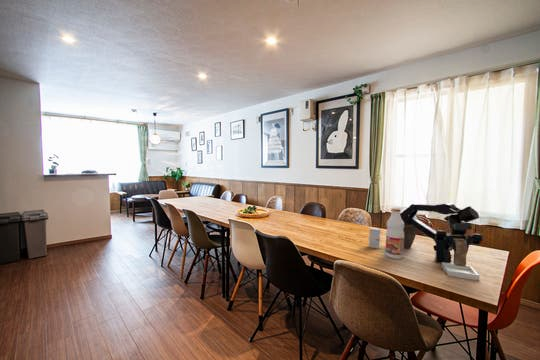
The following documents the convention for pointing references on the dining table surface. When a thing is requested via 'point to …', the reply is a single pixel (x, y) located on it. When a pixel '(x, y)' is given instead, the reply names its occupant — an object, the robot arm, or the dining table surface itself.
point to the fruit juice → (395, 235)
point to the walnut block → (460, 253)
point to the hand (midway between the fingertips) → (461, 252)
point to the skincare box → (374, 238)
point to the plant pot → (409, 234)
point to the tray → (460, 271)
